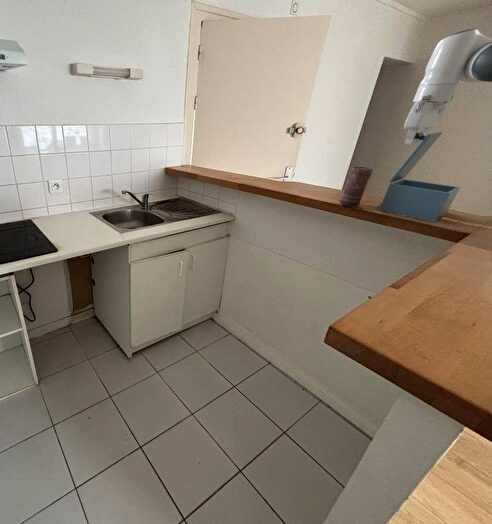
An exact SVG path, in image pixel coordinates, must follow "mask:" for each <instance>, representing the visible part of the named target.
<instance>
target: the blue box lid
mask: <svg viewBox="0 0 492 524" xmlns="http://www.w3.org/2000/svg"><path fill="white" fill-rule="evenodd" d="M442 134H443V132H442V131H437V132H432V133H427V134H426V135H425V136H424V133H422V132H419V131H418V132H417V133H416V135H415V139H420V140H422V142H420V143H419V144H418V145H417V147H416V148H415V150H414V151H413V152H412V153H411V154H410V156H409V157H408V158H407V159H406V160H405V162H404V163H403V164H402V166H401V167H400V168H399V169H398V170H397V172H396V173H395V174H394V175H393V177H392V178H391V179H390V181H389V183H390V184H391V183H393V182H396V181H399V180H401V179H406V177H407V176H408V175H409V173H410V172H411V171H412V170H413V169H414V168H415V166H416V165H417V164H418V162H420V160H421V159H422V158H423V157H424V156H425V154H426V153H427V152H428V150H430V148H431V147H432V146H433V145H434V144H435V143H436V142H437V141H438V139H439V138H440V137H441V135H442ZM415 139H414V141H415Z"/></svg>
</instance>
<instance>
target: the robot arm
mask: <svg viewBox="0 0 492 524" xmlns="http://www.w3.org/2000/svg"><path fill="white" fill-rule="evenodd" d="M460 81H462V82H467V83H472V84H473V83H484V82H486V83H487V82H488V83H492V38H490V37H488V36H486V35H484V34H483V33H481V32H480V30H479V29H478V28H469V29H464V30H460V31H456V32H454V33H451V34H448V35H447V36H445V37H443V38H442V39H441V40H440V41H439V42H438V43H437V45H436V46H435V47H434V50H433V52H432V54H431V56H430V59H429V61H428V62H427V64H426V68H425V73H424V77H423V79H422V80H421V81H420V83H419V85H418V88H417V90H416V93H415V95H414V98H413V100H412V103H414V104H413V105H412V107H411V108H410V111H409V113H408V115H407V118H406V120H405V122H404V125H403V129H404V130H407V132H406V139H405V141H404V144H406V145H411V144H414V142H415V143H421V142H422V141H423V140H420V139H415V135H416V133H419V132H422V133H424V136H427V134H428V132H429V130H430V128H434V127H436V126H437V124H438V123H439V122H440V120H441V118H442V116H443V115H444V112H445V111H446V109H447V107H448V103H451V102H452V101H453V99H454V95H455V91H456V89H457V87H458V84H459V82H460ZM414 139H415V140H414Z"/></svg>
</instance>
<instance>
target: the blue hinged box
mask: <svg viewBox="0 0 492 524" xmlns="http://www.w3.org/2000/svg"><path fill="white" fill-rule="evenodd" d="M460 189H461V186H453V185H449V184H447V185H446V184H439V183H433V182H426V181H420V180H411V179H407V178H403V179H401V180H398V181H395V182H392V183H391V182H390V183H389V185H388V188H387V190H386V193H385V194H384V197H383V199H382V202H381V204H380V207H379V209H378V211H379V210H381V211H380V212H384V211H386V212H385V213H388V212H391V213H390V214H393V213H395V214H394V215H397V214H400V215H399V216H402V215H404V216H403V217H406V216H409V217H408V218H411V217H413V218H412V219H415V218H418V219H417V220H420V219H422V220H421V221H425V220H427V221H426V222H429V221H431V222H430V223H434V222H435V223H437V221H439V220H440V219H442V218H443V217H444V215H445V214H446V213H448V211H449V209H450V208H451V206H452V204H453V202H454V200H455V198H456V196H457V195H458V192H459V191H460Z"/></svg>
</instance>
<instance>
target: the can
mask: <svg viewBox="0 0 492 524" xmlns="http://www.w3.org/2000/svg"><path fill="white" fill-rule="evenodd" d="M372 175H373V169H372V168H370V167H365V166H354V167H352V168H351V170H350V172H349V175H348V178H347V181H346V184H345V188H344V190H343V192H342V196H341V199H340V201H339V203H340V205H341V206H343V207H347V208H357V207H358V206H360V203H361V200H362V198H363V196H364V193H365V190H366V187H367V185H368V182H369V180H370V178H371V176H372Z"/></svg>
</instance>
